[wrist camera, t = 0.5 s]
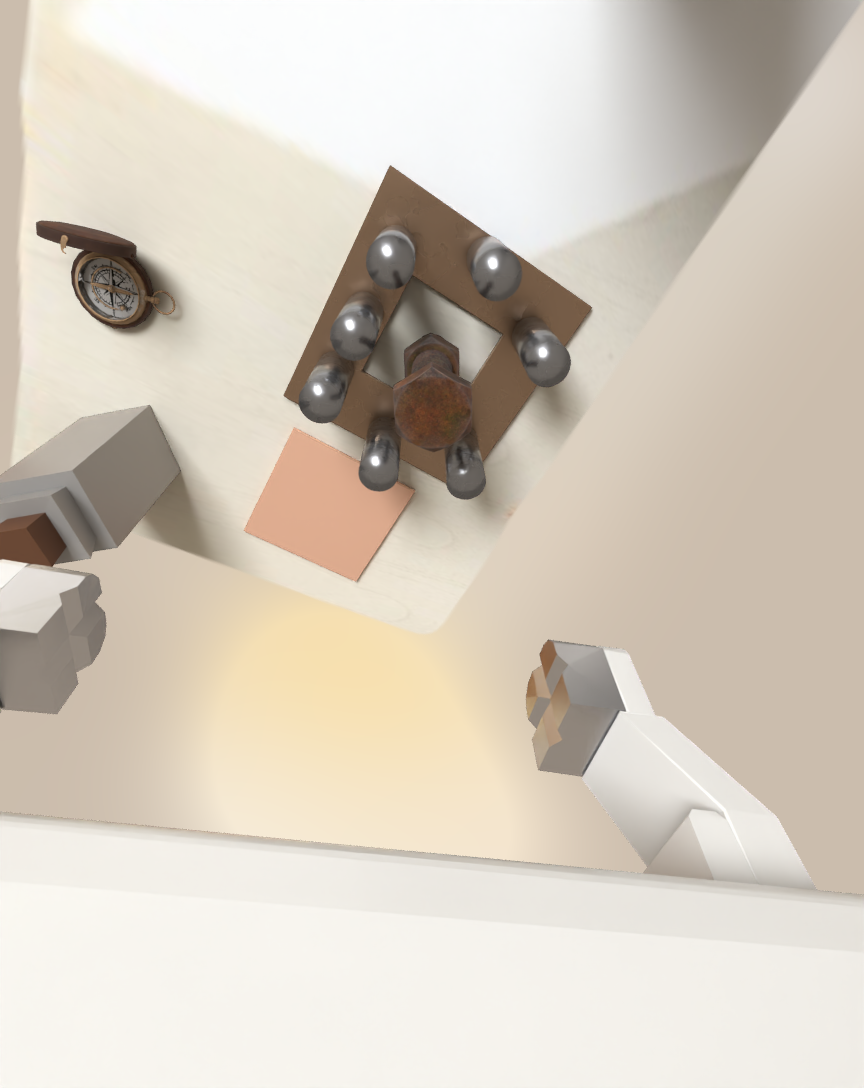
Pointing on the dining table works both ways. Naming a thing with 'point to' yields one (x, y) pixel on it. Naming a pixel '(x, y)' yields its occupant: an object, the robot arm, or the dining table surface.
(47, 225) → the compass
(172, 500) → the dining table surface
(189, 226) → the dining table surface
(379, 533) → the pad
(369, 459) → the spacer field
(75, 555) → the perfume bottle
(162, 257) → the dining table surface
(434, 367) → the bolt
